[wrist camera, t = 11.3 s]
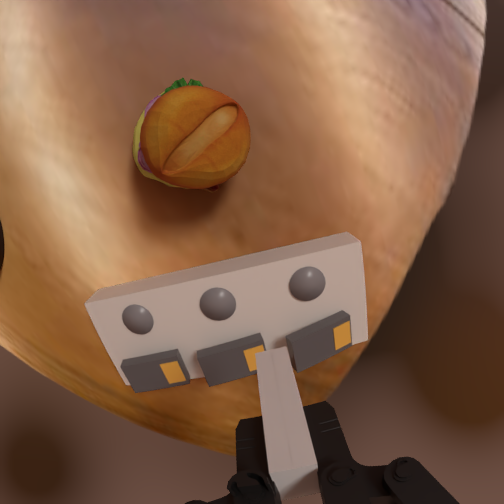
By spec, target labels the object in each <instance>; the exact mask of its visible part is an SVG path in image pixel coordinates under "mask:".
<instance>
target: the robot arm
mask: <svg viewBox="0 0 504 504" xmlns="http://www.w3.org/2000/svg"><path fill="white" fill-rule="evenodd" d="M3 254H4V241H3V232H2V226H1V222H0V269H1V266H2V262H3ZM255 357H256V366H257V375H258V383H259V392H260V401H261V410H262V416H259V417H254V418H248V419H241V420H240V421H239V424H238V426H237V428H236V460H237V474H235V475H234V476H232V478H231V479H230V480H229V481H228V485H227V489H228V490H229V491H230V493H229V494H228V495H227V496H224V497H222V498H220V499H217V500H214V501H211V502H208V503H207V502H204V501H201V500H193V501H189V502H187V503H185V504H282V503H281V500H287V499H292V498H298V497H302V496H307V495H312V494H316V493H321V497H322V501H323V504H459V503H458V502H457V501H456V499H454V497H452V495H451V494H450V493H449V492H448V491H447V490H446V489H445V488H444V487H443V486H442V485H441V484H440V483H439V482H438V481H437V480H436V479H435V478H434V477H433V476H432V475H431V474H430V473H429V472H428V471H427V470H426V469H425V468H424V467H423V466H422V465H421V464H420V462H418V461H417V460H415V459H414V458H411V457H400V458H397V459H395V460H393V461H392V462H391V463H390V464H389V465H383V466H364V465H361V464H359V463H357V462H356V461H355V460H354V459H353V458H352V456H351V454H350V451H349V448H348V446H347V443H346V440H345V437H344V434H343V432H342V430H341V427H340V424H339V421H338V418H337V415H336V413H335V410H334V408H333V407H332V406H331V405H330V404H328V403H327V402H326V401H323V402H319V403H316V404H312V405H308V406H304V407H302V403H301V399H300V395H299V391H298V388H297V384H296V380H295V376H294V373H293V369H292V365H291V362H290V358H289V354H288V350H287V347H286V346H285V347H281V348H277V349H272V350H268V351H263V352H258V353H255Z"/></svg>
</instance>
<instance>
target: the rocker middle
mask: <svg viewBox="0 0 504 504" xmlns="http://www.w3.org/2000/svg"><path fill="white" fill-rule="evenodd" d="M263 351H266V348H265V344H264V340H263V338H262V336H261V333H257V334H253V335H250V336H247V337H243V338H240V339H237V340H233V341H230V342H226V343H223V344H219V345H216V346H212V347H209V348H205V349H201V350H198V351H197V360H198V362H199V364H200V367H201V369H202V371H203V373H204V376H205V378H206V380H207V383H208V385H209V387H210V386H214V385H218V384H222V383H225V382H229V381H232V380H236V379H239V378H243V377H246V376H250V375H253V374H256V373H257V366H256V357H255V353H258V352H263Z"/></svg>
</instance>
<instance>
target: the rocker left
mask: <svg viewBox="0 0 504 504" xmlns="http://www.w3.org/2000/svg"><path fill="white" fill-rule="evenodd" d="M120 367H121V369H122V371H123V373H124V374H125V376H126V378H127V380H128V381H129V383H130V385H131V386H132V388H133V390H134V391H135V393H138V392H145V391H151V390H157V389H163V388H169V387H174V386H180V385H185V384H190V374H189V372H188V370H187V368H186V366H185V364H184V361H183V359H182V357H181V355H180V352H179V350H178V349H174V350H169V351H164V352H159V353H155V354H150V355H145V356H139V357H134V358H129V359H123V361H122V363H121V366H120Z"/></svg>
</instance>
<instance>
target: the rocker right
mask: <svg viewBox="0 0 504 504" xmlns="http://www.w3.org/2000/svg"><path fill="white" fill-rule="evenodd" d="M285 337H286V342H287V347H288V351H289V356H290V361H291V365H292V367H293V368H294V369H295V370H296V372H297V373H298V372H300V371H302V370H305V369H307V368H309V367H311V366H313V365H315V364H317V363H319V362H321V361H323V360H325V359H327V358H329V357H331V356H333V355H335V354H337V353H339V352H341V351H343V350H345V349H346V348H348V347H350V346H352V334H351V320H350V315H349V314H348V313H346V312H345V311H343V310H341V311H339V312H337V313H335V314H333V315H331V316H329V317H326V318H324V319H322V320H320V321H318V322H316V323H313V324H311V325H309V326H307V327H304V328H302V329H300V330H298V331H295V332H293V333H291V334H288V335H286V336H285Z"/></svg>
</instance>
